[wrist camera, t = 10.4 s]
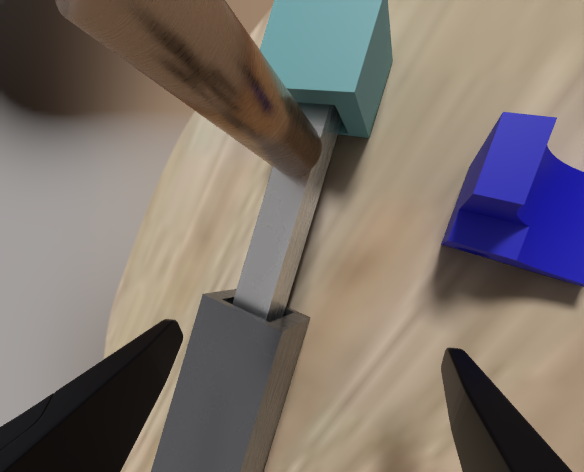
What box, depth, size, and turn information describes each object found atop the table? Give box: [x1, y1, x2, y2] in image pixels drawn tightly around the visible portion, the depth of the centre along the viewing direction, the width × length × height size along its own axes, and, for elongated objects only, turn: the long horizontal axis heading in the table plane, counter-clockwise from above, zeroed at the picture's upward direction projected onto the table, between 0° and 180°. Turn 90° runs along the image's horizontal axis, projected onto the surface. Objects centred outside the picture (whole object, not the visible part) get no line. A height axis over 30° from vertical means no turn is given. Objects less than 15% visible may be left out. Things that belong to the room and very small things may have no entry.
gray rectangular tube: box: [151, 289, 310, 472], centre depth 17 cm, size 12×5×4 cm, turn 162°
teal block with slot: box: [260, 0, 393, 138], centre depth 16 cm, size 5×6×5 cm
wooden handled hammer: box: [56, 0, 342, 322], centre depth 12 cm, size 18×3×13 cm, turn 162°
